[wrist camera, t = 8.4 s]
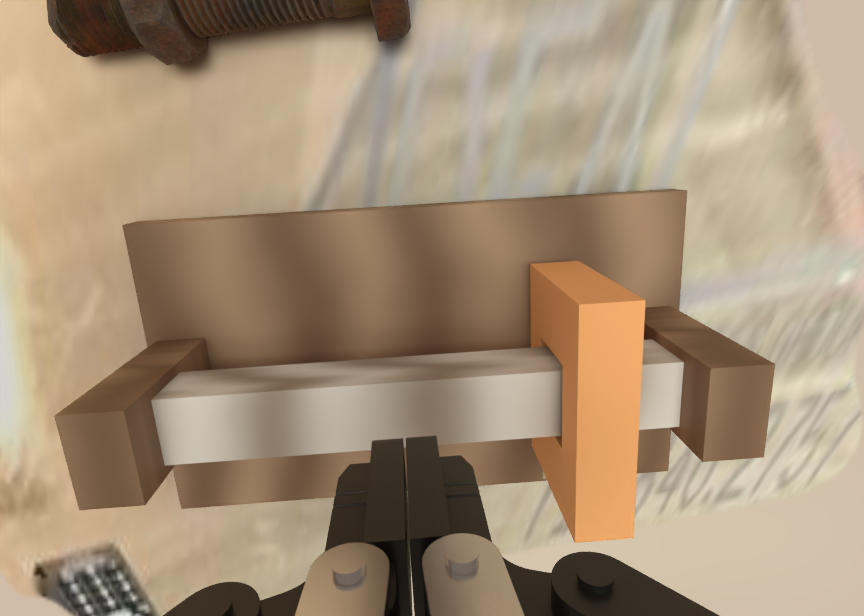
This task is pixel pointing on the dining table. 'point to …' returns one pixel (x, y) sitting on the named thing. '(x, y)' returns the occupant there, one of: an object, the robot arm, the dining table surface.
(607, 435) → the collar
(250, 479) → the pipe stand
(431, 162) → the dining table surface
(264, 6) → the bolt
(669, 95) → the dining table surface
